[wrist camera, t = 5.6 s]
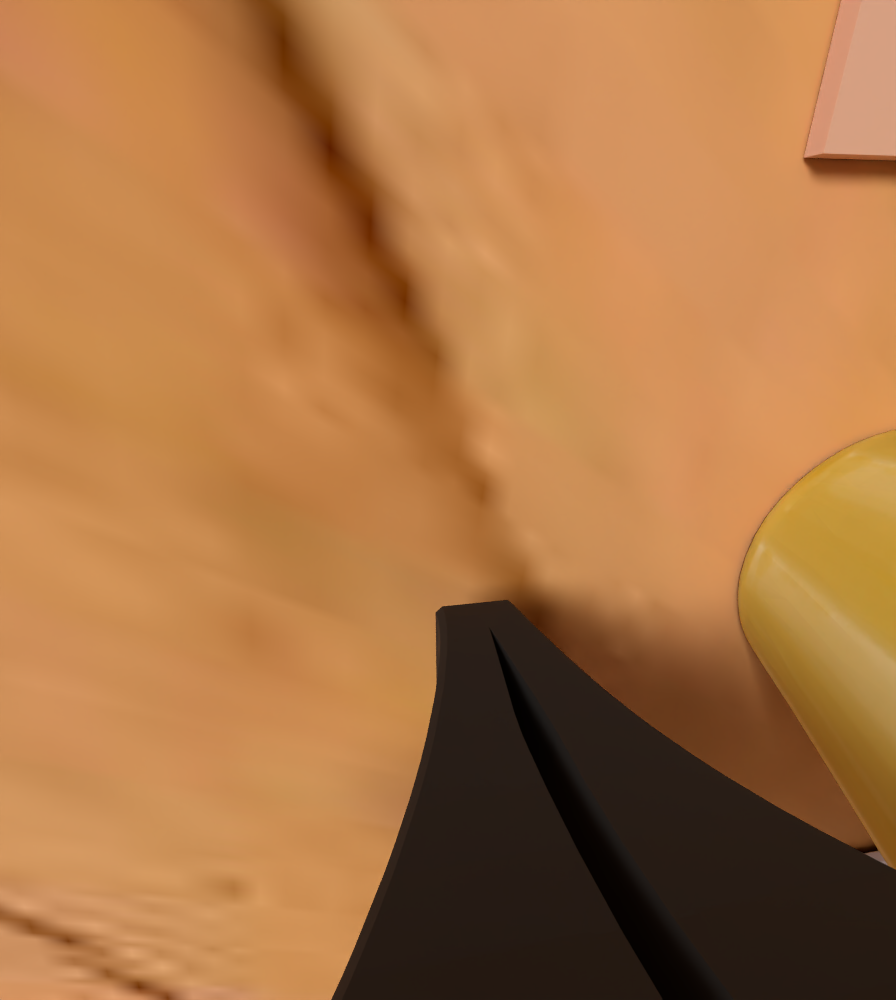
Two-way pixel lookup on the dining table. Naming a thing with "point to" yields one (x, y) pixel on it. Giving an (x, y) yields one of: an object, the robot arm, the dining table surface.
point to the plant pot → (835, 620)
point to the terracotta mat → (858, 86)
